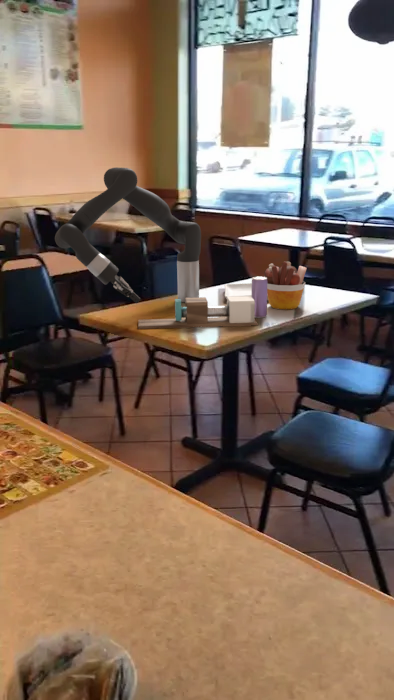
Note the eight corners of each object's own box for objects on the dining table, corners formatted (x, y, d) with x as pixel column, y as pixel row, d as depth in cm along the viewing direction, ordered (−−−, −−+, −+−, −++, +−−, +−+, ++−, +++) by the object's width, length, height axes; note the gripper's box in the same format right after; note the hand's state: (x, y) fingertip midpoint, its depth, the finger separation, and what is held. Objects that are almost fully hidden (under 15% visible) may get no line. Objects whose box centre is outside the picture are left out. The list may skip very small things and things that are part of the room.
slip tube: (175, 320, 231) (175, 301, 229) (175, 317, 235) (174, 299, 233) (244, 318, 232) (244, 300, 230) (242, 315, 237) (242, 297, 235)
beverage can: (265, 318, 241) (266, 279, 237) (250, 317, 242) (250, 278, 238) (267, 315, 247) (268, 276, 242) (252, 314, 248) (252, 276, 244)
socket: (226, 317, 239) (226, 296, 237) (250, 317, 239) (250, 296, 237) (229, 323, 231) (229, 301, 228) (254, 322, 231) (254, 300, 229)
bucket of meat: (266, 301, 271) (267, 254, 265) (305, 302, 267) (307, 255, 262) (261, 311, 252) (262, 261, 247) (303, 313, 249) (305, 262, 243)
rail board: (138, 322, 237) (137, 298, 235) (252, 319, 240) (253, 295, 238) (138, 328, 228) (137, 304, 225) (257, 325, 231) (257, 301, 228)
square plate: (224, 291, 295) (224, 283, 294) (283, 291, 294) (283, 283, 293) (224, 303, 269) (224, 294, 268) (289, 303, 268) (289, 294, 267)
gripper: (108, 263, 219) (145, 297, 223) (110, 258, 231) (145, 290, 236) (94, 279, 220) (131, 312, 224) (96, 272, 233) (131, 304, 237)
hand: (138, 301), depth 230 cm, fingers closed
